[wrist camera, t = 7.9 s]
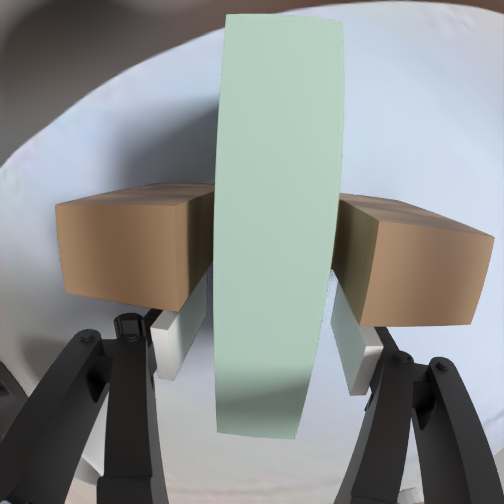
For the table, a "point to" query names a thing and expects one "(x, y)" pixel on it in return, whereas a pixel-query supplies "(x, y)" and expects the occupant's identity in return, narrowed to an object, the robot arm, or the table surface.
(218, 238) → the sage board
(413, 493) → the coffee cup
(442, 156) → the table surface
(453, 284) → the brown u-shaped block
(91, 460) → the mug
